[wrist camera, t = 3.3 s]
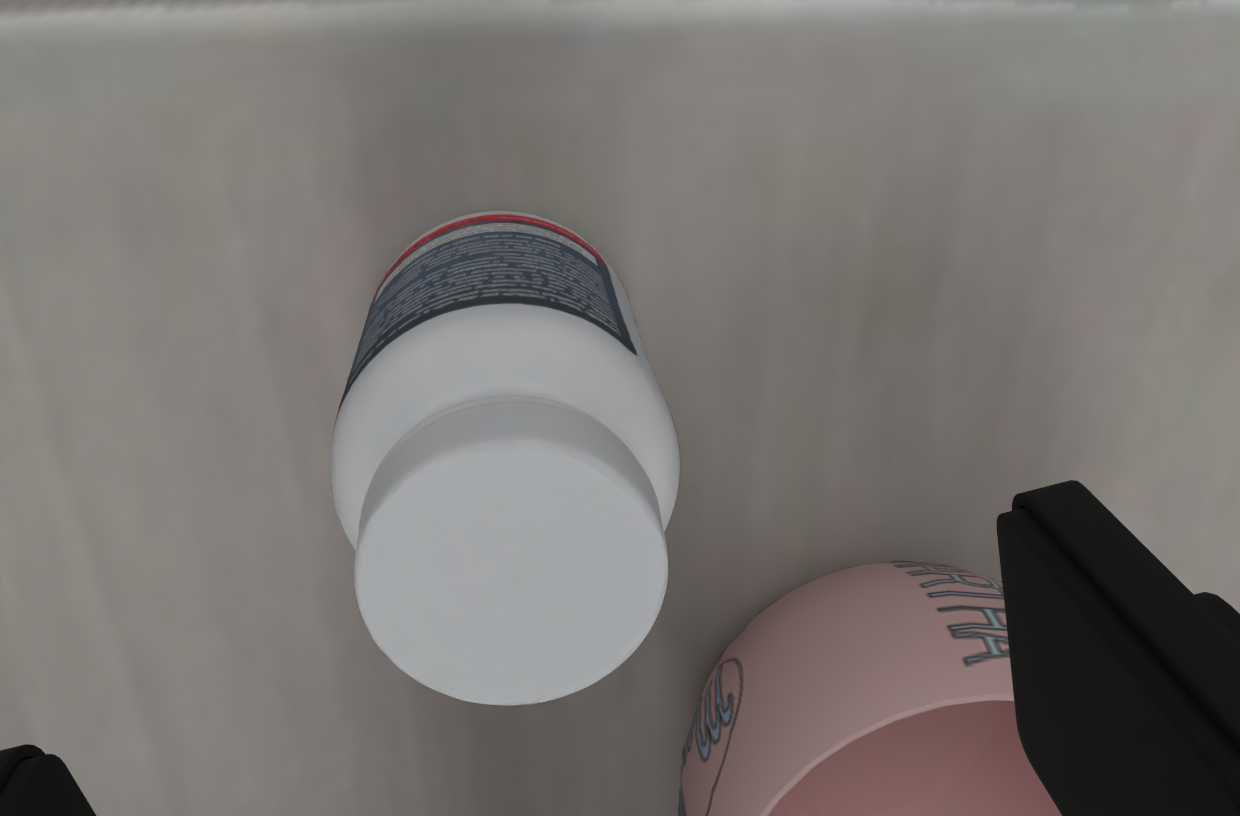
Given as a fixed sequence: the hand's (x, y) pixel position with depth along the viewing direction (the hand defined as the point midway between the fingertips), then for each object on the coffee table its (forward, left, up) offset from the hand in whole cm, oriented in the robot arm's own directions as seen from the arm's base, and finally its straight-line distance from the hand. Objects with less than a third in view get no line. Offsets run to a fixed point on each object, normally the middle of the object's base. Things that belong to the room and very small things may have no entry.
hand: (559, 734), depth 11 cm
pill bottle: (0, -1, -12) cm, 12 cm away
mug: (+12, +5, -12) cm, 18 cm away
